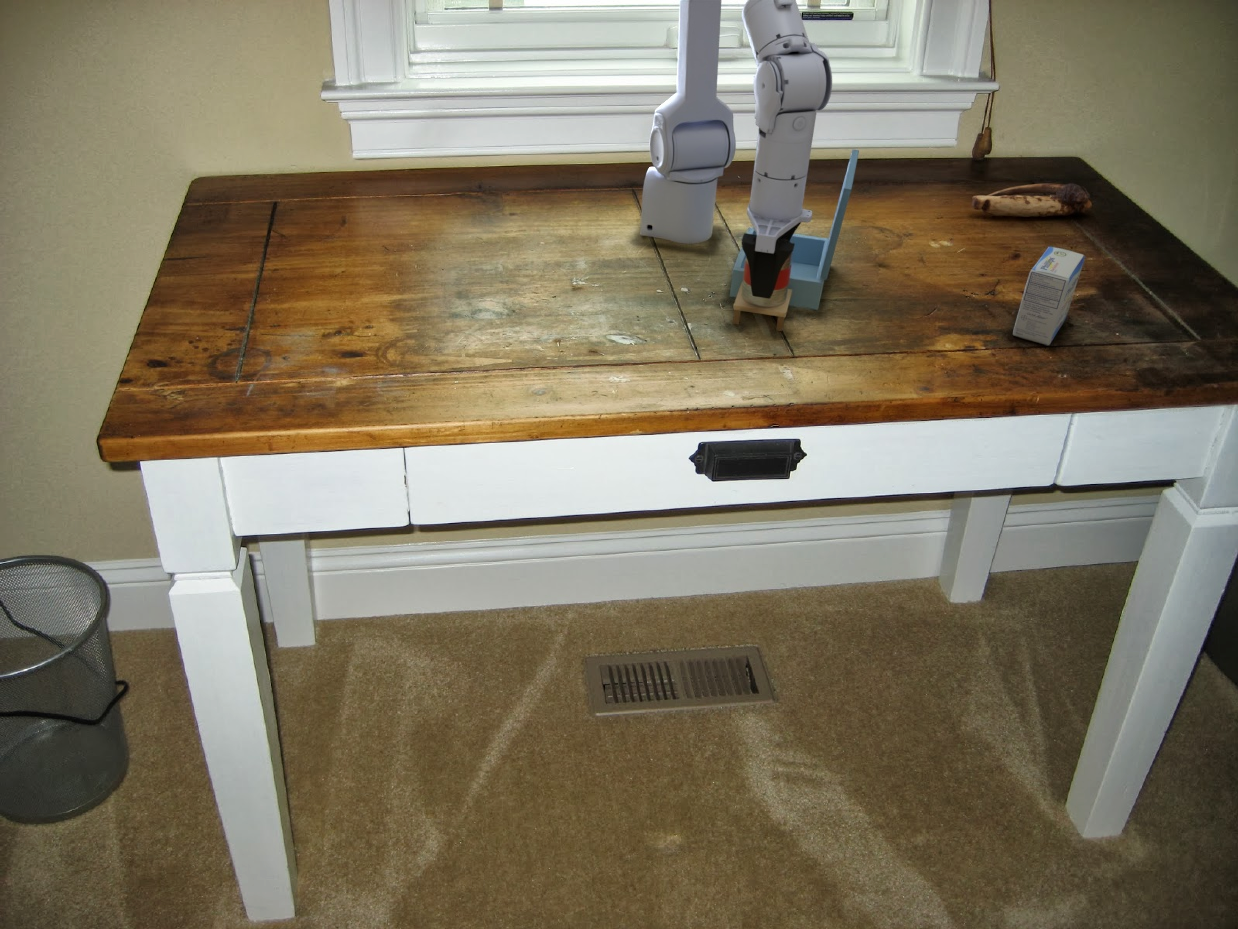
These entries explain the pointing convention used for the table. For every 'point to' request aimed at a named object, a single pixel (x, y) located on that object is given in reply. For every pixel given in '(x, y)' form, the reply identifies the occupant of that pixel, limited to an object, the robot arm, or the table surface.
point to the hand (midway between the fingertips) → (765, 284)
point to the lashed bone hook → (1035, 201)
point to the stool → (761, 309)
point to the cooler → (795, 270)
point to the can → (780, 288)
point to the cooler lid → (839, 214)
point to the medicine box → (1048, 295)
